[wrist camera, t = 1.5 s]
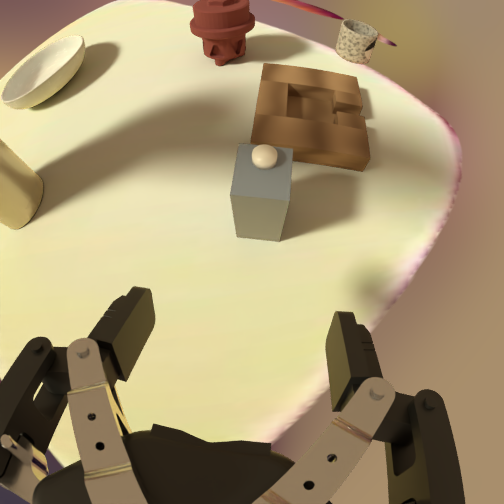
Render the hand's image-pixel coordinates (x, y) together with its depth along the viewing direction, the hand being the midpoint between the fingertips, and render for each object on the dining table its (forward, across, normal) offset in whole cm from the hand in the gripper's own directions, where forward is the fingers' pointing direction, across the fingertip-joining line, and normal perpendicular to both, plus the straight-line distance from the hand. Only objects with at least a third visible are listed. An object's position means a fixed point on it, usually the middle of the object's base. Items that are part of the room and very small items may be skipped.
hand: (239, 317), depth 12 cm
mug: (+47, -14, -24) cm, 54 cm away
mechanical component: (+41, +9, -18) cm, 46 cm away
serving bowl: (+39, +47, -17) cm, 64 cm away
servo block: (+20, 0, +3) cm, 20 cm away
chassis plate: (+31, -5, -8) cm, 33 cm away
